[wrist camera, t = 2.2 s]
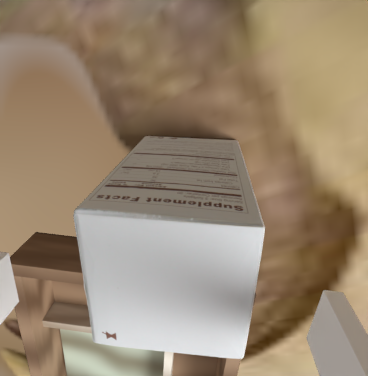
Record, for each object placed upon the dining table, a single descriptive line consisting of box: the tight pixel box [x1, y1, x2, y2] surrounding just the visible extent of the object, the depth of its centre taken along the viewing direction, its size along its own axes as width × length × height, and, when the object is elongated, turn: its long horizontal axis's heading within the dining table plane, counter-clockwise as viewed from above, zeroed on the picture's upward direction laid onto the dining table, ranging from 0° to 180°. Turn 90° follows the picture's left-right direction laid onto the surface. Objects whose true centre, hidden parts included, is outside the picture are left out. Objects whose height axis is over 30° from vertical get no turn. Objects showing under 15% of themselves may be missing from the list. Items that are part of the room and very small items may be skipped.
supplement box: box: [74, 136, 265, 359], centre depth 17 cm, size 7×7×13 cm
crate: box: [10, 232, 256, 376], centre depth 29 cm, size 22×20×4 cm
